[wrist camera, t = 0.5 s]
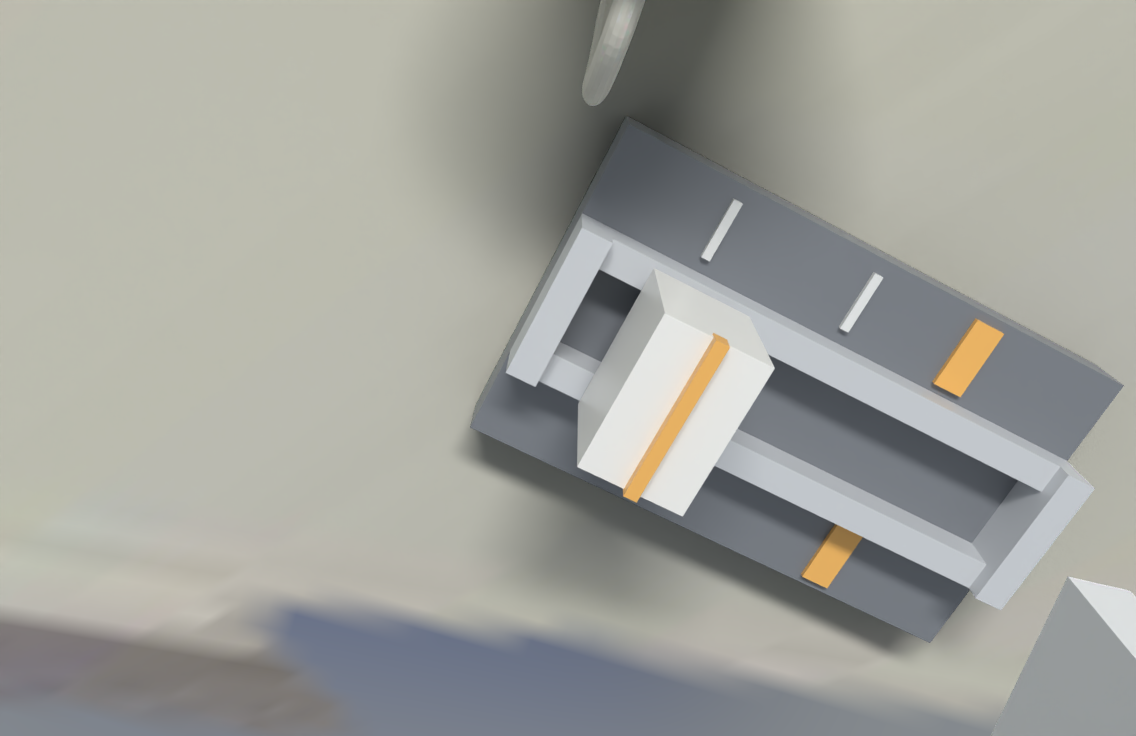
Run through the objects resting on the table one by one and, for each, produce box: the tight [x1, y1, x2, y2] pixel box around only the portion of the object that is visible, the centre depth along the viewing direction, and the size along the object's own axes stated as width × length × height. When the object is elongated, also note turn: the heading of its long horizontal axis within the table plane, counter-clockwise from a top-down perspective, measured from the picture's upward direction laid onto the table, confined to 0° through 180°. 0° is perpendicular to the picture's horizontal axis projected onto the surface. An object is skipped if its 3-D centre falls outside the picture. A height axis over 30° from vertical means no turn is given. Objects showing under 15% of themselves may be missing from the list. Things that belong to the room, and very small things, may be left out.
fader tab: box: [577, 268, 775, 516], centre depth 30 cm, size 3×5×6 cm, turn 153°
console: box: [470, 116, 1124, 643], centre depth 34 cm, size 18×11×4 cm, turn 63°
